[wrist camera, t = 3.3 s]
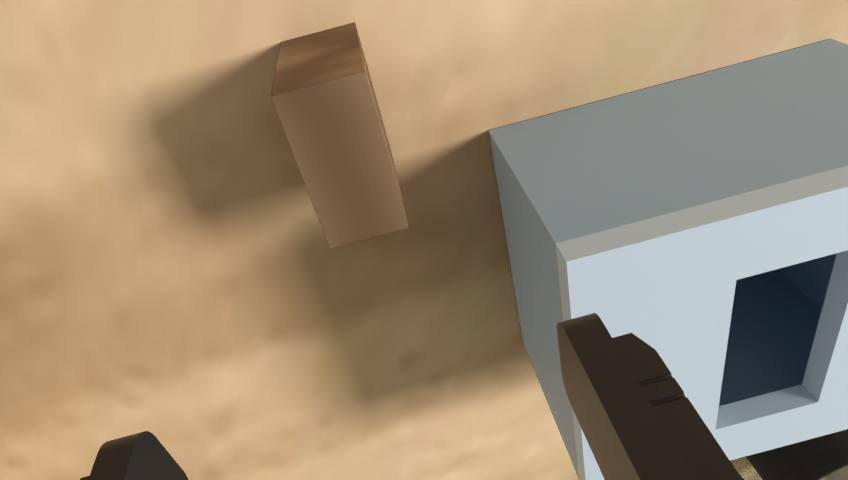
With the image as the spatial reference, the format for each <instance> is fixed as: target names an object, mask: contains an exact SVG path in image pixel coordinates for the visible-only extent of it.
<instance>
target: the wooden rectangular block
mask: <svg viewBox="0 0 848 480" xmlns="http://www.w3.org/2000/svg"><path fill="white" fill-rule="evenodd" d="M271 99H272V102H273V104H274V107H275V109H276V112H277V114H278V117H279V119H280V122H281V125H282V127H283V130H284V132H285V135H286V137H287V140H288V142H289V145H290V147H291V150H292V153H293V155H294V158H295V160H296V163H297V165H298V168H299V170H300V173H301V176H302V178H303V181H304V183H305V186H306V188H307V191H308V193H309V196H310V198H311V201H312V204H313V206H314V209H315V211H316V214H317V216H318V219H319V221H320V224H321V226H322V229H323V232H324V234H325V237H326V239H327V242H328V244H329V247H330V249H331V248H335V247H339V246H342V245H346V244H350V243H354V242H357V241H361V240H365V239H369V238H372V237H376V236H380V235H383V234H387V233H391V232H395V231H398V230H402V229H406V228H409V225H408V221H407V217H406V213H405V208H404V204H403V200H402V196H401V191H400V187H399V183H398V179H397V174H396V170H395V166H394V162H393V157H392V154H391V150H390V146H389V143H388V139H387V136H386V132H385V128H384V125H383V121H382V118H381V114H380V110H379V107H378V103H377V100H376V96H375V93H374V89H373V85H372V82H371V78H370V75H369V71H368V67H367V64H366V60H365V57H364V53H363V49H362V46H361V42H360V39H359V35H358V31H357V28H356V24H355V22H354V23H350V24H347V25H343V26H339V27H336V28H332V29H328V30H324V31H321V32H317V33H313V34H309V35H306V36H302V37H298V38H294V39H291V40H287V41H283V42H281V44H280V50H279V55H278V60H277V66H276V71H275V76H274V82H273V87H272V92H271Z"/></svg>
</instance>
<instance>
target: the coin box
mask: <svg viewBox="0 0 848 480" xmlns="http://www.w3.org/2000/svg"><path fill="white" fill-rule="evenodd" d="M489 136H490V142H491V148H492V154H493V161H494V167H495V173H496V179H497V185H498V191H499V197H500V204H501V210H502V216H503V222H504V228H505V234H506V241H507V247H508V253H509V259H510V265H511V271H512V278H513V284H514V290H515V296H516V302H517V308H518V315H519V321H520V327H521V333H522V339H523V343H524V346H525V348H526V351H527V353H528V356H529V358H530V361H531V363H532V365H533V368H534V370H535V373H536V375H537V378H538V380H539V383H540V385H541V387H542V390H543V392H544V395H545V397H546V400H547V402H548V404H549V407H550V409H551V412H552V414H553V417H554V419H555V422H556V424H557V426H558V429H559V431H560V434H561V436H562V439H563V441H564V443H565V446H566V448H567V451H568V453H569V456H570V458H571V461H572V463H573V465H574V468H575V470H576V473H577V475H578V478H579V480H604V477H603V475H602V473H601V471H600V468H599V466H598V464H597V462H596V460H595V457H594V455H593V453H592V451H591V448H590V446H589V444H588V442H587V440H586V437H585V435H584V433H583V431H582V429H581V426H580V424H579V422H578V420H577V417H576V415H575V413H574V411H573V409H572V406H571V404H570V401H569V399H568V396H567V393H566V390H565V386H564V383H563V378H562V372H561V363H560V353H559V344H558V335H557V323H559V322H563V321H566V320H570V319H574V318H578V317H581V316H585V315H589V314H593V313H596V314H597V315H598V316H599V317H600V319H601V320H602V322H603V323H604V325H605V327H606V328H607V330H608V332H609V333H610V335H611V337H612V338H614V337H618V336H621V335H625V334H629V333H633V334H634V335H635V336H637V337H638V338H640V339H641V340H643V341H644V342H645V343H647V344H648V345H650V346H651V347H652V348H654V349H655V350H656V351H657V353H658V354H659V356H660V357H661V359H662V360H663V362H664V363H665V365H666V366H667V367H668V369H669V370H670V372H671V375H672V377H673V378H675V379H676V381H677V382H678V384H679V385H680V387H681V388H682V390H683V391H684V395H685V397H688V399H689V400H690V402H691V403H692V405H693V406H694V408H695V409H696V411H697V412H698V414H699V415H700V417H701V418H702V420H703V421H704V423H705V424H706V426H707V427H708V429H709V430H710V432H711V433H712V435H713V436H714V438H715V439H716V441H717V442H718V444H719V445H720V447H721V448H722V450H723V451H724V453H725V454H726V456H727V457H728V459H729V460H730V461H731V460H734V459H738V458H742V457H745V456H749V455H753V454H757V453H760V452H764V451H768V450H772V449H775V448H779V447H783V446H787V445H790V444H794V443H798V442H802V441H805V440H809V439H813V438H817V437H820V436H824V435H828V434H832V433H835V432H839V431H843V430H846V429H848V45H847V44H844V43H841V42H839V41H836V40H833V39H828V40H825V41H821V42H817V43H813V44H810V45H806V46H802V47H799V48H795V49H791V50H787V51H784V52H780V53H776V54H772V55H769V56H765V57H761V58H757V59H754V60H750V61H746V62H742V63H739V64H735V65H731V66H728V67H724V68H720V69H716V70H713V71H709V72H705V73H701V74H698V75H694V76H690V77H686V78H683V79H679V80H675V81H672V82H668V83H664V84H660V85H657V86H653V87H649V88H645V89H642V90H638V91H634V92H630V93H627V94H623V95H619V96H616V97H612V98H608V99H604V100H601V101H597V102H593V103H589V104H586V105H582V106H578V107H574V108H571V109H567V110H563V111H560V112H556V113H552V114H548V115H545V116H541V117H537V118H533V119H530V120H526V121H522V122H518V123H515V124H511V125H507V126H504V127H500V128H496V129H492V130H489Z"/></svg>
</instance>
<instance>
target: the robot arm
mask: <svg viewBox="0 0 848 480" xmlns="http://www.w3.org/2000/svg"><path fill="white" fill-rule="evenodd" d="M557 335H558V344H559V353H560V363H561V372H562V378H563V383H564V386H565V390H566V393H567V396H568V399H569V401H570V404H571V406H572V409H573V411H574V413H575V415H576V417H577V420H578V422H579V424H580V426H581V429H582V431H583V433H584V435H585V437H586V440H587V442H588V444H589V446H590V448H591V451H592V453H593V455H594V457H595V460H596V462H597V464H598V466H599V468H600V471H601V473H602V475H603V477H604V480H744V479H743V478H742V477H741V476H740V475H739V473H738V472H737V471H736V469H735V468H734V466H733V465H732V463H731V462H730V460H729V459H728V457H727V456H726V454H725V453H724V451H723V450H722V448H721V447H720V445H719V444H718V442H717V441H716V439H715V438H714V436H713V435H712V433H711V432H710V430H709V429H708V427H707V426H706V424H705V423H704V421H703V420H702V418H701V417H700V415H699V414H698V412H697V411H696V409H695V408H694V406H693V405H692V403H691V402H690V400H689V399H688V397H685V395H684V391H683V390H682V388H681V387H680V385H679V384H678V382H677V381H676V379H675V378H673V377H672V375H671V372H670V370H669V369H668V367H667V366H666V365H665V363H664V362H663V360H662V359H661V357H660V356H659V354H658V353H657V351H656V350H655V349H654V348H652V347H651V346H650V345H648V344H647V343H645V342H644V341H643V340H641V339H640V338H638V337H637V336H635V335H634V334H633V333H629V334H625V335H621V336H618V337H614V338H612V337H611V335H610V333H609V332H608V330H607V328H606V327H605V325H604V323H603V322H602V320H601V319H600V317H599V316H598V315H597V314H596V313H593V314H589V315H585V316H581V317H578V318H574V319H570V320H566V321H563V322H559V323H557ZM80 480H188V478H187V476H186V474H185V473H184V471H183V470H182V469H181V468H180V466H179V465H178V464H177V463H176V461H175V460H174V459H173V458H172V457H171V455H170V454H169V453H168V452H167V450H166V449H165V448H164V447H163V445H162V444H161V443H160V442H159V441H158V439H157V438H156V437H155V436H154V435H153V434H152V433H151V432H148V431H145V432H141V433H137V434H134V435H130V436H126V437H122V438H119V439H115V440H111V441H108V442H106V443H104V444H103V445H102V446H101V448H100V450H99V452H98V454H97V457H96V460H95V463H94V465H93V468H92V471H91V474H90V476H87V477H83V478H81V479H80Z"/></svg>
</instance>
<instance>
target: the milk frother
mask: <svg viewBox="0 0 848 480" xmlns="http://www.w3.org/2000/svg"><path fill="white" fill-rule="evenodd" d="M745 457H746V458H747V459H748V460H749V462H750V463H751V464H752V466H753V467H754V468H755V470H756V471H757V472H758V474H759V475H760V476H761V478H762V479H763V480H848V429H846V430H843V431H839V432H835V433H832V434H828V435H824V436H820V437H817V438H813V439H809V440H805V441H802V442H798V443H794V444H790V445H787V446H783V447H779V448H775V449H772V450H768V451H764V452H760V453H757V454H753V455H749V456H745Z"/></svg>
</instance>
